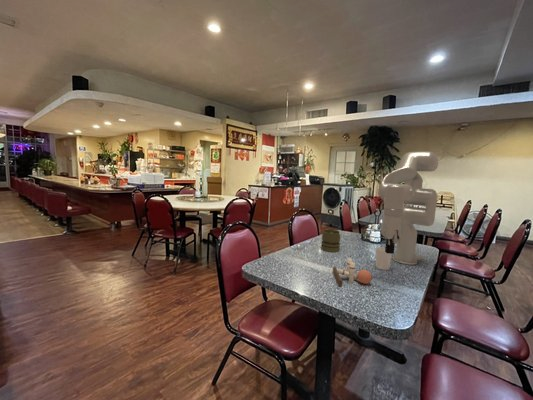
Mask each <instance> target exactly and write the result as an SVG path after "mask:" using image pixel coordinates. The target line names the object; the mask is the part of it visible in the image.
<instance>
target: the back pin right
mask: <svg viewBox="0 0 533 400" xmlns="http://www.w3.org/2000/svg"><path fill="white" fill-rule="evenodd" d="M350 262H353V258H352V257H351V258H350V257H347V259H346V270H345V271H347V272H349V266H350ZM345 278H346V279H349V277H347V276H345Z"/></svg>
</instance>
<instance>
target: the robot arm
mask: <svg viewBox="0 0 533 400" xmlns="http://www.w3.org/2000/svg"><path fill="white" fill-rule="evenodd" d="M438 166H439V158H438V157H437V155H436V154H435V153H434V151H433V152H432V151H409V152H405V153H404V154H403V156H402V157H401V160H400V162H399V164H398V167H397V168H396V169H394V170H393V171H391V172H389V173H388V174H386V175H385V176H384V177H383V178H382V180H381V182H380V184H379V186H378V196H379V197H380V198H381V199H382V200H383V199H384V204H383V217H382V222H381V227H380V228H381V230H380V234H381V235H382V236H383V237H384V238H385V252H386V253H390V254H392V255H393V254H394V255H393V256H392V257H391V260H393V261H394V262H396V263H400V264H401V265H402V264H403V265H409V266H414V265H417V264H418V260H419V261H421V260H422V261H424V260H425V257H424V256H423V255H422V256H421V255H418V254H416V250H417V248H416V247H417V241H418V240H417V238H418V230H417V228H416V227H415V226H414V225H418V226H424V227H425V226H426V227H431V226H433V224H434V223H435V218H436V210H437V202H438V193H437V191H436V190H435V189H432V188H423V182H424V179H423V177H422V176H421V175H420V174H419V173H418V172H434V171H436V170H437V168H438ZM405 204H407V205H411V206H404V205H405ZM412 205H413V206H412ZM417 206H422V207H417ZM423 206H424V207H425V208H423ZM395 246H396V248H395Z"/></svg>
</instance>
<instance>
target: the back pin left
mask: <svg viewBox="0 0 533 400" xmlns="http://www.w3.org/2000/svg"><path fill="white" fill-rule="evenodd" d="M355 270H356V262H353V261H352V262H350V266H349V278H348V283H350V284H354V282H355V280H354V274H355Z"/></svg>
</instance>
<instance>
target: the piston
mask: <svg viewBox="0 0 533 400" xmlns="http://www.w3.org/2000/svg"><path fill="white" fill-rule="evenodd" d="M340 242H341V234H340V230H336V229H323V232H322V235H321V251H324V252H327V253H339V252H340V248H341V247H340V246H341V243H340Z"/></svg>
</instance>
